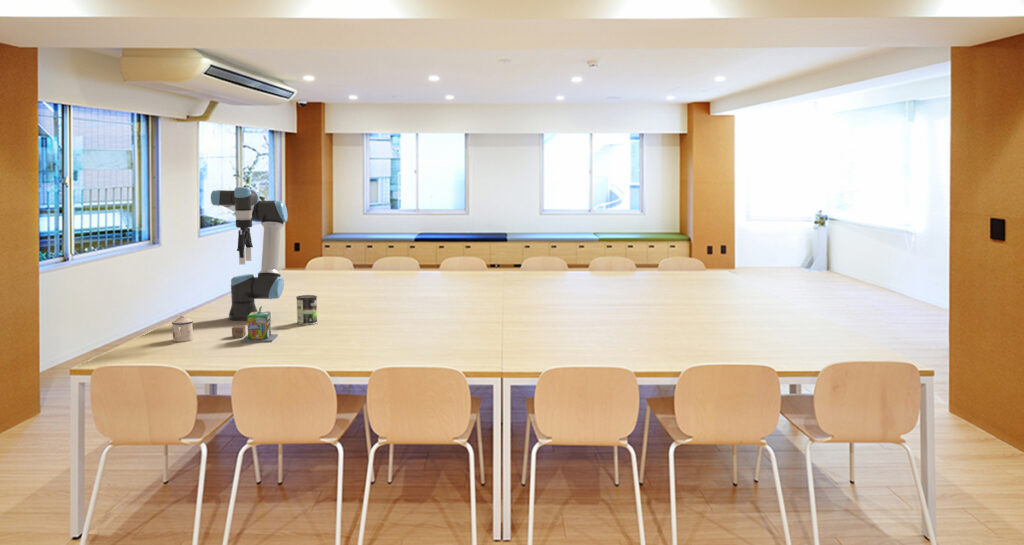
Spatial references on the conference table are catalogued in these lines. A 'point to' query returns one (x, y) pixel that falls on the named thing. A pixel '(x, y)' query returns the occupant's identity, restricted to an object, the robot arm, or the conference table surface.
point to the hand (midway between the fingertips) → (245, 262)
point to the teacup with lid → (182, 329)
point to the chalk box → (259, 325)
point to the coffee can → (306, 309)
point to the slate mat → (260, 339)
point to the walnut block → (238, 331)
